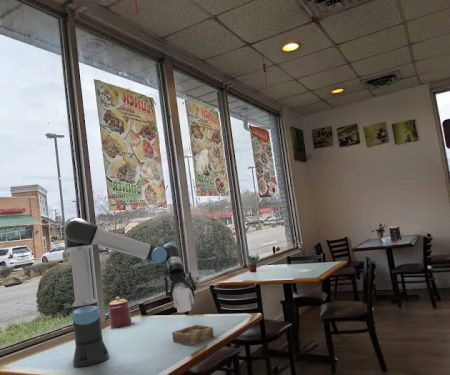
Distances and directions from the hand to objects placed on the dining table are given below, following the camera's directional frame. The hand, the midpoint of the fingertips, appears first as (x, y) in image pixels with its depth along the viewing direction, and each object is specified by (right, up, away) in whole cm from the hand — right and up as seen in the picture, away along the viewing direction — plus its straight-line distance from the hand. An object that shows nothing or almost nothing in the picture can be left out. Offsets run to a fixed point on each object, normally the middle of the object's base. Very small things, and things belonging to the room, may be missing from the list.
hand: (184, 304), depth 190 cm
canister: (-45, -31, +60) cm, 81 cm away
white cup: (0, -4, +3) cm, 5 cm away
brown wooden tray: (+4, -17, +2) cm, 18 cm away
